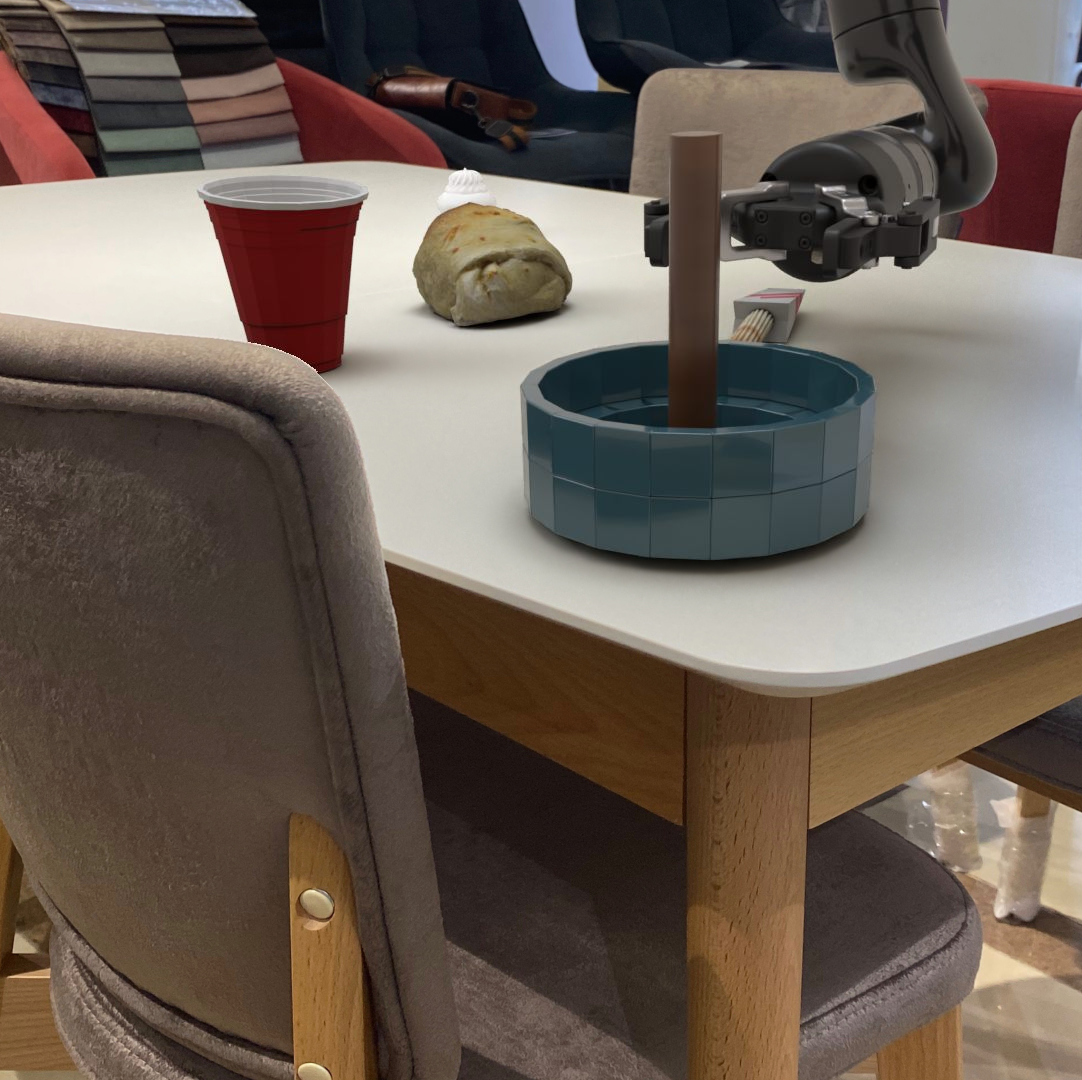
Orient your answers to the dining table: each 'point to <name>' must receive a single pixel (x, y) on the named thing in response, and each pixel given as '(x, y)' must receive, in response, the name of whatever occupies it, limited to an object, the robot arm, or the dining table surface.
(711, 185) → the stirrer
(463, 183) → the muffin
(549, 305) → the pastry
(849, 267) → the robot arm
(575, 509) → the bowl
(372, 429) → the dining table surface
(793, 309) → the box of toothpicks
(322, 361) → the plastic cup
